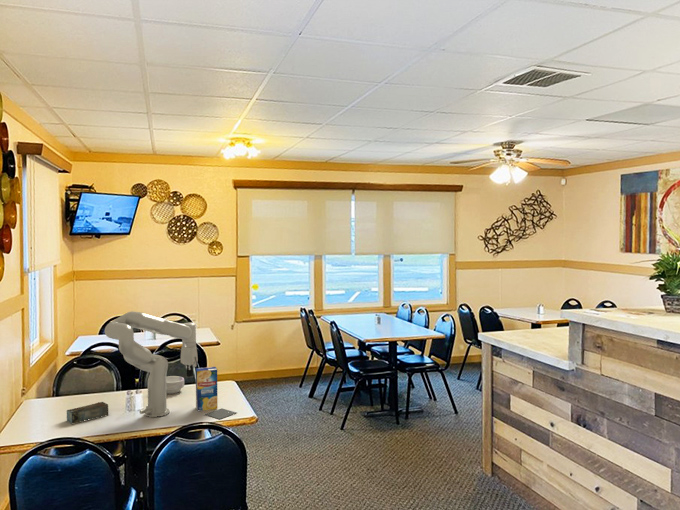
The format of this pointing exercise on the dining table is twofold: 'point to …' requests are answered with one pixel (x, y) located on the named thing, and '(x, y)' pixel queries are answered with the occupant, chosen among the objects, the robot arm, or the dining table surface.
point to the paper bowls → (174, 384)
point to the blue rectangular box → (206, 388)
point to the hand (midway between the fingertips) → (189, 375)
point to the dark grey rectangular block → (87, 412)
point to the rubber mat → (220, 413)
